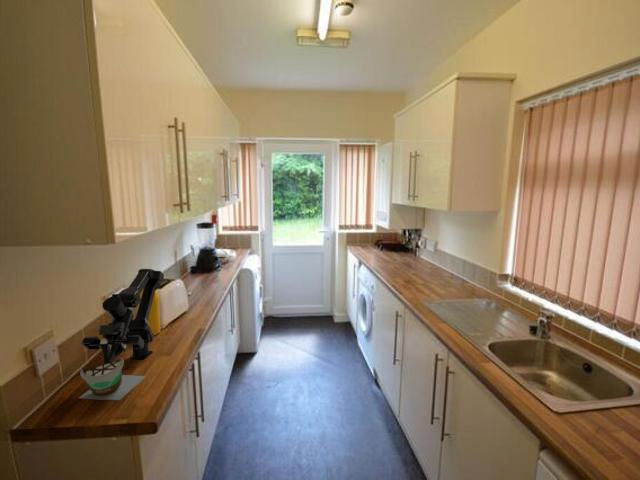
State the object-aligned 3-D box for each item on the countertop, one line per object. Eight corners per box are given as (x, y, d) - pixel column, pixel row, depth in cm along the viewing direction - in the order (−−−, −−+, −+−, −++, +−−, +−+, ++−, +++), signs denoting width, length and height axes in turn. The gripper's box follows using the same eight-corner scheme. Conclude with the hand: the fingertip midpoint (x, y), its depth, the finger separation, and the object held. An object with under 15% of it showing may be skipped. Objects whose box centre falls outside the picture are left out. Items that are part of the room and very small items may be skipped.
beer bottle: (164, 332, 166) (162, 274, 162) (146, 338, 158) (143, 278, 155) (154, 328, 171) (151, 272, 167) (135, 334, 163) (132, 275, 160)
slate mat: (110, 374, 125) (110, 374, 125) (146, 376, 124) (146, 376, 124) (78, 398, 110) (78, 397, 110) (119, 400, 109) (119, 400, 109)
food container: (86, 405, 108) (80, 383, 104) (84, 390, 112) (79, 369, 108) (129, 389, 115) (125, 368, 110) (126, 376, 119) (123, 356, 115)
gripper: (82, 314, 116) (63, 359, 106) (139, 313, 118) (126, 357, 108) (96, 328, 124) (80, 371, 115) (149, 326, 126) (138, 369, 116)
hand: (105, 367), depth 113 cm, fingers closed
